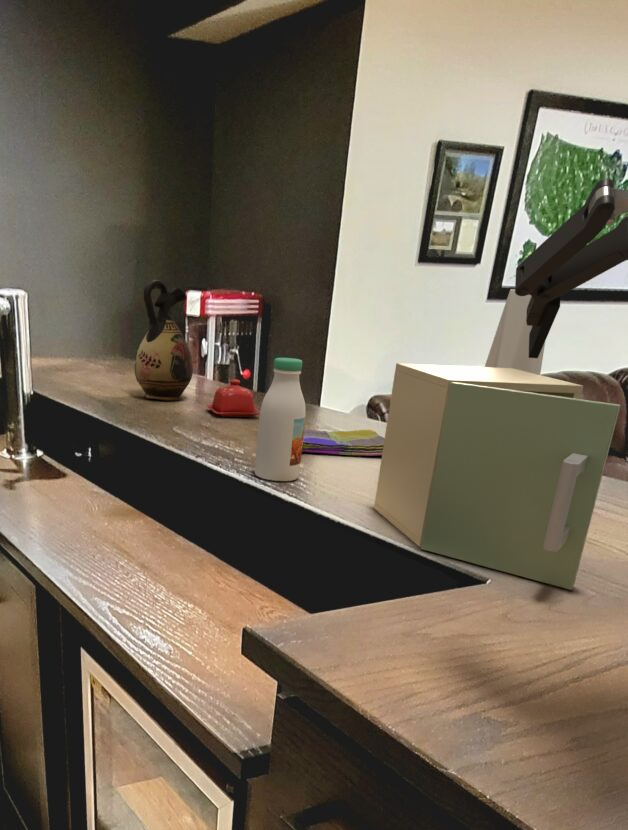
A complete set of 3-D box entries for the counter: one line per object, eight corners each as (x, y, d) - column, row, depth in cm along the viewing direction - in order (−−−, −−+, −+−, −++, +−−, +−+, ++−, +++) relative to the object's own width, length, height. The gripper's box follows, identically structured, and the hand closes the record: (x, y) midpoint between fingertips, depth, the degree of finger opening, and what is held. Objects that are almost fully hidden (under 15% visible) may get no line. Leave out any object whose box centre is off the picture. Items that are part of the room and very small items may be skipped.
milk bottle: (275, 484, 120) (288, 362, 113) (244, 473, 125) (255, 356, 119) (308, 479, 124) (322, 361, 118) (276, 468, 130) (288, 355, 123)
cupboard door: (561, 606, 80) (610, 411, 73) (404, 561, 90) (434, 386, 83) (573, 587, 85) (620, 404, 78) (423, 547, 95) (453, 381, 88)
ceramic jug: (169, 392, 203) (175, 280, 193) (202, 401, 191) (210, 283, 182) (117, 394, 193) (120, 277, 184) (148, 405, 182) (154, 280, 172)
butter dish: (204, 409, 181) (206, 374, 178) (248, 410, 183) (251, 376, 180) (214, 418, 170) (217, 382, 168) (261, 419, 173) (265, 383, 170)
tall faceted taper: (445, 472, 134) (479, 287, 123) (471, 463, 142) (505, 288, 131) (511, 488, 126) (553, 291, 116) (535, 477, 134) (577, 293, 123)
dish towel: (263, 433, 158) (264, 421, 157) (373, 439, 158) (375, 427, 157) (274, 452, 141) (275, 439, 140) (397, 459, 142) (399, 445, 141)
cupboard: (544, 548, 98) (583, 385, 91) (419, 547, 95) (449, 380, 88) (483, 510, 113) (512, 368, 106) (373, 508, 110) (396, 363, 103)
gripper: (527, 164, 46) (463, 374, 64) (1015, 171, 40) (789, 400, 58) (530, 89, 49) (468, 310, 67) (983, 85, 43) (778, 329, 61)
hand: (617, 352), depth 63 cm, fingers open, 13 cm apart
